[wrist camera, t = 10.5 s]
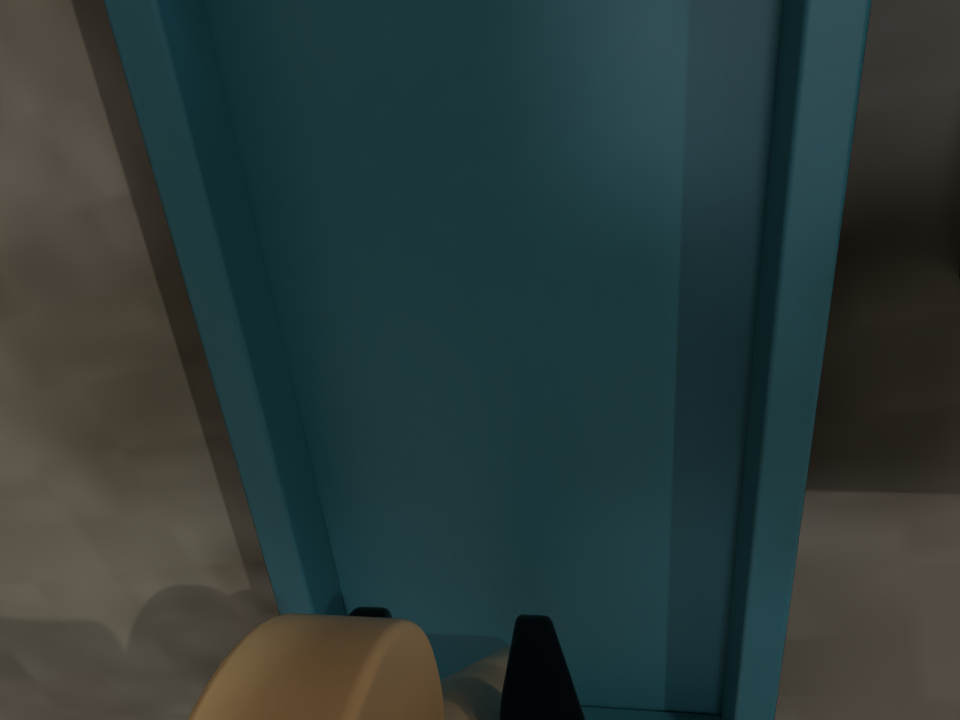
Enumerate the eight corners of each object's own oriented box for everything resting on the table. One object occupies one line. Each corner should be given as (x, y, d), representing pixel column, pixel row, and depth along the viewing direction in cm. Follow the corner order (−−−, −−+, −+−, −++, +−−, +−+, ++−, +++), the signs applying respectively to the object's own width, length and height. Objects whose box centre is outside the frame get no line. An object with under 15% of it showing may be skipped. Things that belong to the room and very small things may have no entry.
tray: (750, 715, 20) (764, 799, 18) (345, 689, 21) (320, 763, 20) (876, -391, 10) (935, -453, 8) (106, -278, 11) (11, -308, 10)
